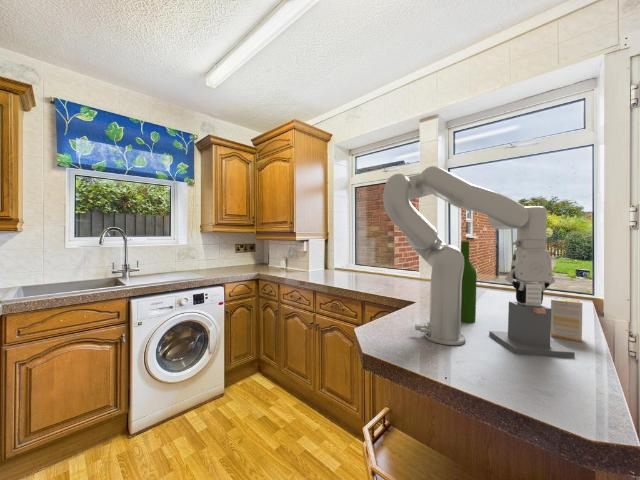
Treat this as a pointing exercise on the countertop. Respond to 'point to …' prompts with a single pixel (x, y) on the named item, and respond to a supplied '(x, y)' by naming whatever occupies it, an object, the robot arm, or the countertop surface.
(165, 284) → the countertop surface
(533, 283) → the column
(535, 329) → the stand
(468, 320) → the wine bottle
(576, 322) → the supplement box
